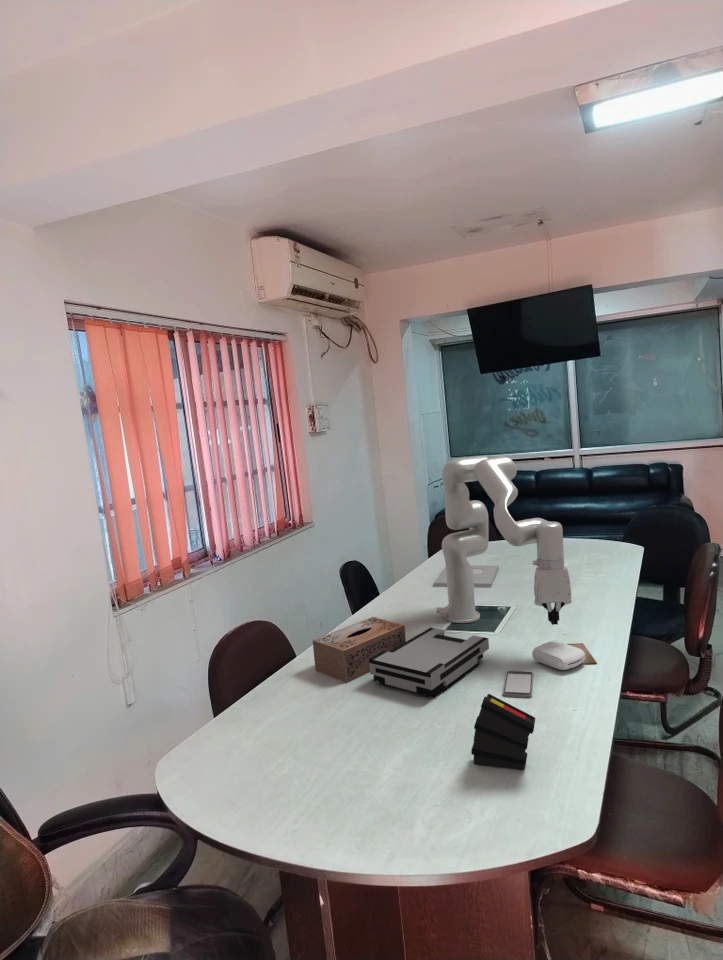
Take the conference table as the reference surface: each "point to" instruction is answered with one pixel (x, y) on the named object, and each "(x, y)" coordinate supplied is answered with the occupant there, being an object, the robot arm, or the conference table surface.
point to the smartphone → (518, 684)
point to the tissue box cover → (355, 647)
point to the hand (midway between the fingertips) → (553, 623)
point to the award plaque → (481, 576)
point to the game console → (428, 662)
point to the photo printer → (558, 655)
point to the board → (588, 656)
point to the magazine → (501, 735)
